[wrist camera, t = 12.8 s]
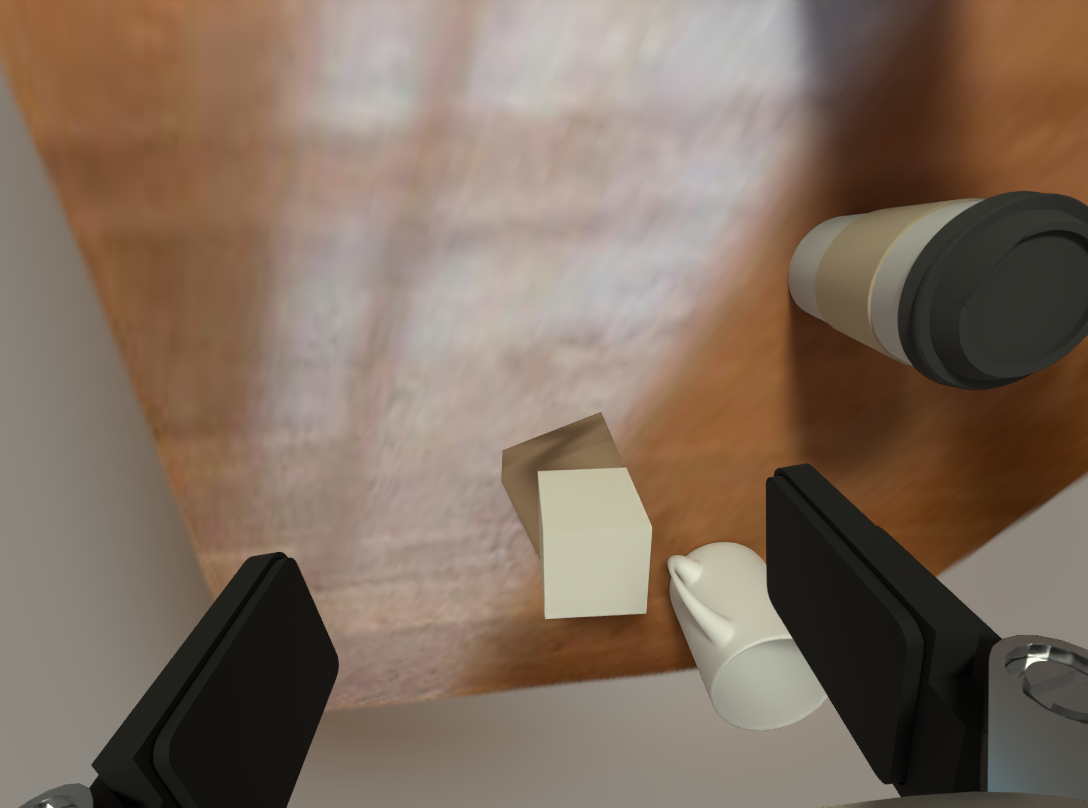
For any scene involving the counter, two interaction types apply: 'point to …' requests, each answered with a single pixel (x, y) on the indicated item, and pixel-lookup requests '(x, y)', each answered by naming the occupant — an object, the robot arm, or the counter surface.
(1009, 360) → the coffee cup
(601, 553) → the cream block
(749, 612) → the mug
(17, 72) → the counter surface
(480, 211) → the counter surface
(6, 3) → the counter surface
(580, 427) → the walnut block
